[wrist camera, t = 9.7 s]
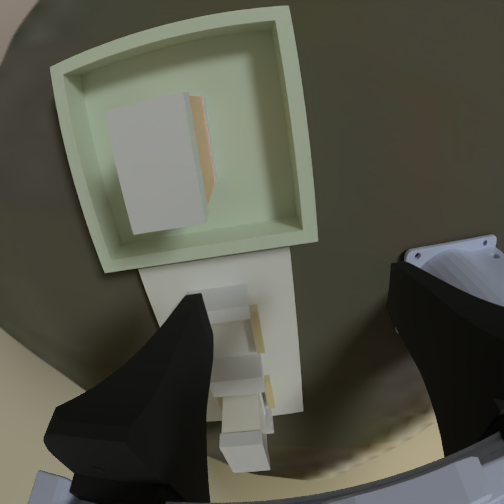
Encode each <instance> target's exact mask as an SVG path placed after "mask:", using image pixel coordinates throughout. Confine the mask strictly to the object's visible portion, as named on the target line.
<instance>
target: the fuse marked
mask: <svg viewBox="0 0 504 504" xmlns="http://www.w3.org/2000/svg"><path fill="white" fill-rule="evenodd" d="M105 114H106V120H107V125H108V131H109V136H110V141H111V146H112V150H113V155H114V160H115V164H116V169H117V173H118V177H119V181H120V186H121V190H122V194H123V198H124V202H125V205H126V209H127V213H128V217H129V220H130V224H131V228H132V231H133V235H135V234H142V233H148V232H155V231H161V230H168V229H175V228H181V227H188V226H195V225H202V224H206V223H207V219H208V215H209V210H208V203H209V200H210V197H211V193H212V190H213V187H214V185H215V184H217V182H218V174H217V168H216V162H215V156H214V149H213V143H212V137H211V130H210V124H209V117H208V111H207V104H206V97H205V95H198V96H189V93H187V92H181V93H176V94H171V95H166V96H162V97H157V98H153V99H149V100H145V101H141V102H137V103H133V104H129V105H126V106H122V107H118V108H115V109H111V110H108V111H105Z"/></svg>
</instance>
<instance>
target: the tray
mask: <svg viewBox="0 0 504 504" xmlns="http://www.w3.org/2000/svg"><path fill="white" fill-rule="evenodd" d="M50 71H51V78H52V85H53V91H54V97H55V102H56V108H57V113H58V118H59V123H60V128H61V132H62V137H63V141H64V145H65V150H66V154H67V158H68V162H69V166H70V169H71V173H72V177H73V180H74V184H75V187H76V191H77V194H78V198H79V201H80V204H81V207H82V210H83V214H84V217H85V220H86V223H87V226H88V229H89V232H90V235H91V237H92V240H93V243H94V246H95V249H96V251H97V254H98V257H99V259H100V262H101V265H102V267H103V270H104V272H105V273H109V272H116V271H122V270H129V269H136V268H143V267H149V266H156V265H163V264H169V263H176V262H183V261H189V260H196V259H203V258H210V257H216V256H223V255H230V254H236V253H243V252H250V251H257V250H263V249H270V248H277V247H284V246H290V245H297V244H304V243H311V242H317V241H318V233H317V219H316V206H315V194H314V183H313V172H312V162H311V153H310V144H309V135H308V126H307V118H306V110H305V103H304V95H303V88H302V81H301V74H300V68H299V61H298V55H297V49H296V43H295V37H294V31H293V26H292V20H291V15H290V10H289V6H275V7H264V8H254V9H245V10H238V11H231V12H224V13H218V14H213V15H207V16H202V17H197V18H192V19H188V20H183V21H179V22H175V23H171V24H167V25H163V26H159V27H155V28H152V29H148V30H145V31H141V32H138V33H135V34H132V35H129V36H126V37H123V38H120V39H117V40H114V41H111V42H108V43H106V44H103V45H100V46H98V47H95V48H92V49H90V50H87V51H85V52H83V53H80V54H78V55H75V56H73V57H71V58H69V59H66V60H64V61H62V62H60V63H58V64H56V65H53V66H51V67H50ZM181 92H187V93H189V96H198V95H205V97H206V104H207V111H208V117H209V124H210V130H211V137H212V143H213V149H214V156H215V162H216V168H217V174H218V182H217V184H215V185H214V187H213V190H212V193H211V197H210V200H209V203H208V210H209V215H208V219H207V223H206V224H202V225H195V226H188V227H181V228H175V229H168V230H161V231H155V232H148V233H142V234H135V235H133V231H132V228H131V224H130V220H129V217H128V213H127V209H126V205H125V202H124V198H123V194H122V190H121V186H120V181H119V177H118V173H117V169H116V164H115V160H114V155H113V150H112V146H111V141H110V136H109V131H108V125H107V120H106V114H105V111H108V110H111V109H115V108H118V107H122V106H126V105H129V104H133V103H137V102H141V101H145V100H149V99H153V98H157V97H162V96H166V95H171V94H176V93H181Z"/></svg>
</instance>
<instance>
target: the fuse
mask: <svg viewBox="0 0 504 504" xmlns="http://www.w3.org/2000/svg"><path fill="white" fill-rule="evenodd" d="M265 416H266V407H265V402H264V397H263V393H256V394H247V395H237V396H226V397H223V409H222V434H220V449H221V451H222V453H223V455H224V457H225V458H226V460H227V462H228V464H229V466H230V468H231V469H232V471H233V472H234V473H240V472H254V471H265V470H270V459H269V455H268V450H267V436H266V423H265Z"/></svg>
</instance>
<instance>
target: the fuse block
mask: <svg viewBox="0 0 504 504" xmlns="http://www.w3.org/2000/svg"><path fill="white" fill-rule="evenodd" d="M138 270H139V273H140V276H141V279H142V282H143V284H144V287H145V290H146V293H147V295H148V298H149V301H150V303H151V306H152V308H153V311H154V314H155V316H156V319H157V321H158V324H159V326H160V327H161V326H162V325H163V323H164V322H165V321H166V320H167V318H168V317H169V316H170V314H171V313H172V312H173V310H174V309H175V308H176V307H177V305H178V304H179V303H180V301H181V300H182V299H183V298H184V296H185V295H189V294H197V293H202V297H203V300H204V304H205V307H206V311H207V314H208V318H209V321H210V324H211V328H212V331H213V340H214V356H213V365H212V373H211V381H210V388H209V396H208V404H207V416H206V422H208V421H222V409H223V397H226V396H237V395H247V394H256V393H263V397H264V402H265V407H266V416H265V423H266V434H270V433H274V427H273V416H275V415H282V414H289V413H296V412H302V411H303V398H302V383H301V369H300V356H299V343H298V331H297V320H296V308H295V298H294V287H293V277H292V267H291V258H290V248H289V246H284V247H277V248H270V249H263V250H257V251H250V252H243V253H236V254H230V255H223V256H216V257H210V258H203V259H196V260H189V261H183V262H176V263H169V264H163V265H156V266H149V267H143V268H139V269H138Z"/></svg>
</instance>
